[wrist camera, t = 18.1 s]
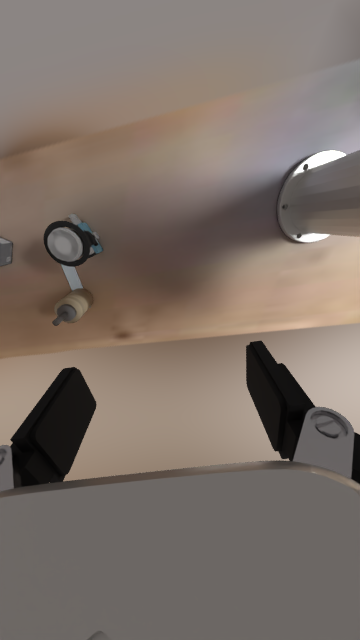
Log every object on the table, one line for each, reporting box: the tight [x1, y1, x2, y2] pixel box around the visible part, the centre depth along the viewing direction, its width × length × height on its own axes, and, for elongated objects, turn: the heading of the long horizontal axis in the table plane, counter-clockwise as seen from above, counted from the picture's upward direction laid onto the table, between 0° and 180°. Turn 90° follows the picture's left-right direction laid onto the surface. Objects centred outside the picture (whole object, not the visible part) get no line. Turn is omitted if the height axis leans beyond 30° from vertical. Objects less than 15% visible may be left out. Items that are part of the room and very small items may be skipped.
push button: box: [44, 214, 103, 267], centre depth 28 cm, size 7×5×10 cm
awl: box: [53, 288, 93, 326], centre depth 32 cm, size 4×4×10 cm
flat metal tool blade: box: [61, 264, 91, 308], centre depth 35 cm, size 2×13×1 cm, turn 9°
